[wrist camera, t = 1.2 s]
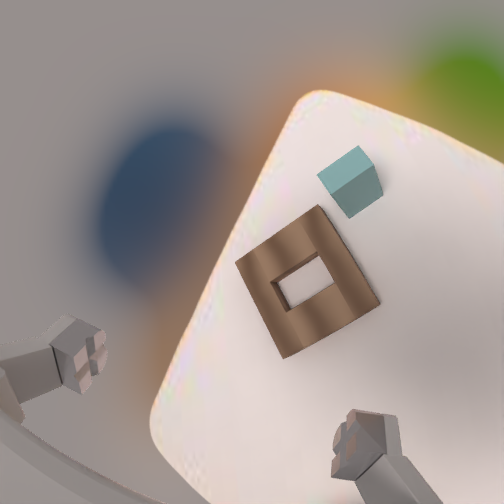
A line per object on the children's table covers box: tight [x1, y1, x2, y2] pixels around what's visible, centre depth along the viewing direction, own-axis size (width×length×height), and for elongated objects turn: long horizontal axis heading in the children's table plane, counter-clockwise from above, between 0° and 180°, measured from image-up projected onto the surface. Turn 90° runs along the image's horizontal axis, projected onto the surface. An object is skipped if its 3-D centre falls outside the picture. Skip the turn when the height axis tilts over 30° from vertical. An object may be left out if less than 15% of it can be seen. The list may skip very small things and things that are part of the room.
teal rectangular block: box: [317, 146, 383, 219], centre depth 39 cm, size 6×3×11 cm, turn 119°
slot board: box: [235, 204, 380, 359], centre depth 45 cm, size 15×16×2 cm
